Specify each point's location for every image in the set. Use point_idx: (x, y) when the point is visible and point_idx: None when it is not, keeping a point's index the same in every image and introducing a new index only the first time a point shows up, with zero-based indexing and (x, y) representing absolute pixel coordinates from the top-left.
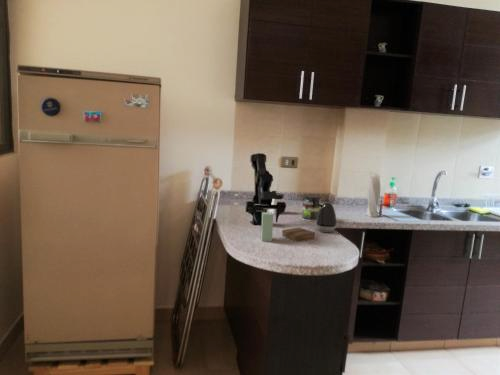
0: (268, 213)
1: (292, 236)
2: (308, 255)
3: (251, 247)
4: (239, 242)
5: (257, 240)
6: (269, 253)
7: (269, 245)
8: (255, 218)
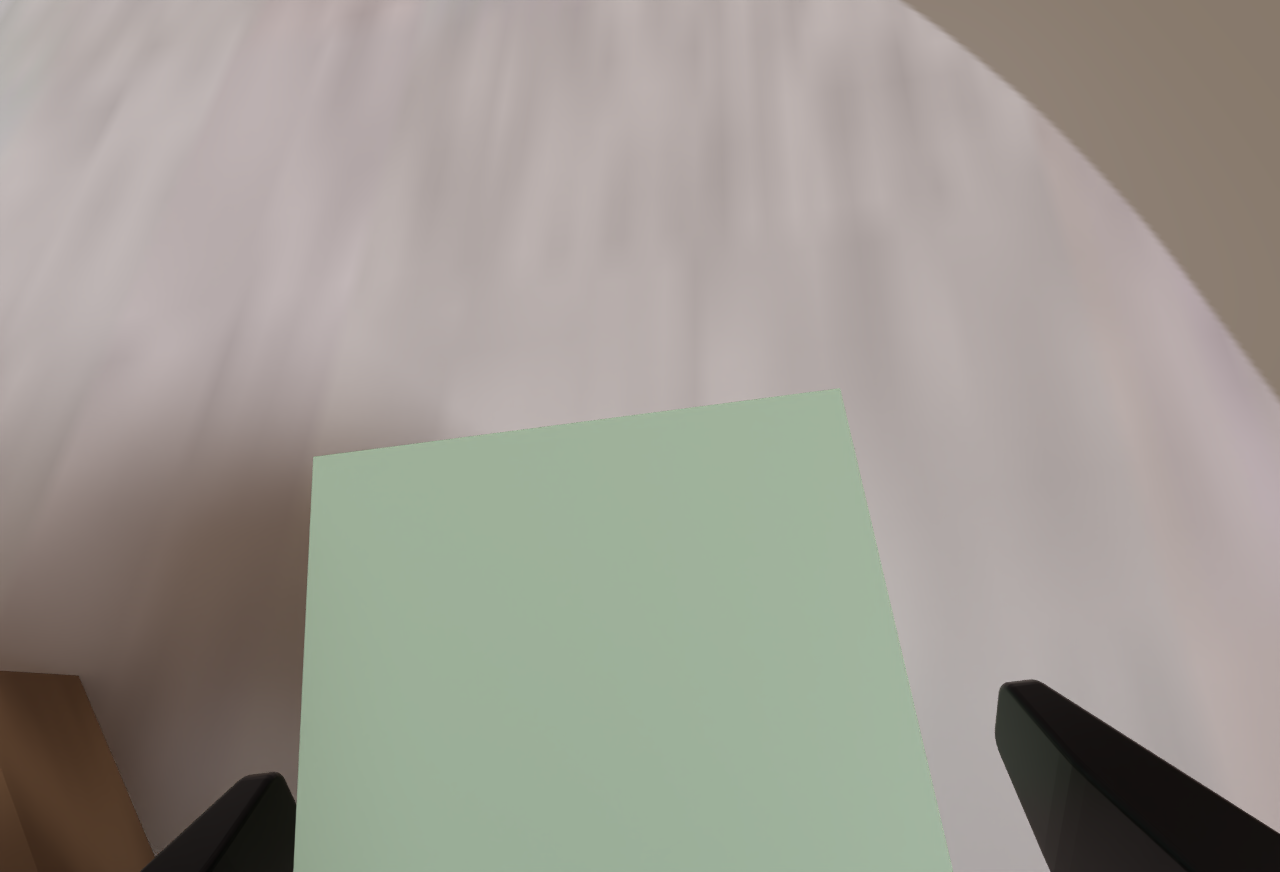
0: (537, 677)
1: (80, 817)
2: (176, 64)
3: (886, 232)
4: (1137, 456)
5: None
6: (632, 52)
7: (614, 370)
8: (1153, 771)
